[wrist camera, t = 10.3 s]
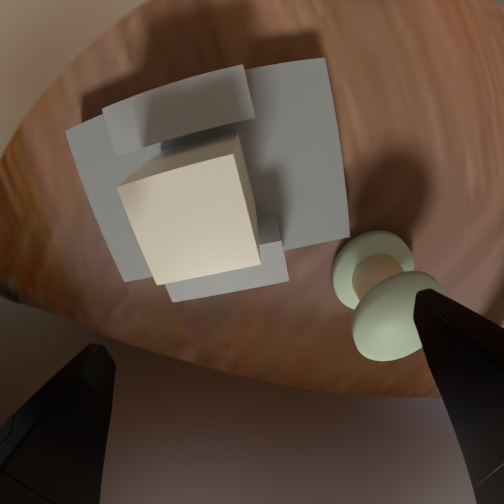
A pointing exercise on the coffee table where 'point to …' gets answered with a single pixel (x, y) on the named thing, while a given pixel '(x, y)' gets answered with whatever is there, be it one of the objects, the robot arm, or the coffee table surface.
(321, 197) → the notch board
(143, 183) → the block
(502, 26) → the coffee table surface
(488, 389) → the robot arm
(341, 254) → the spool
